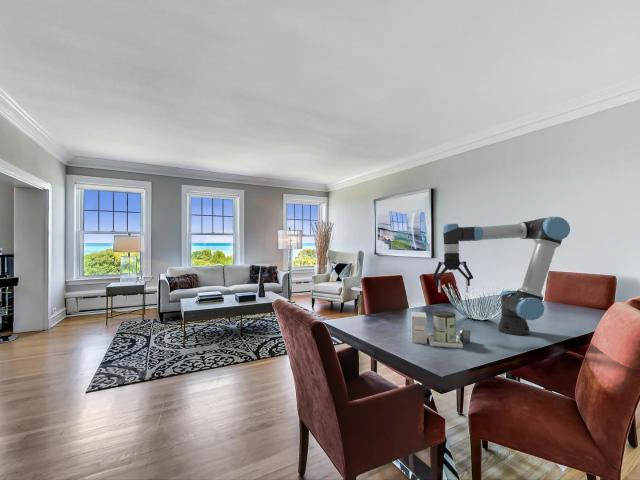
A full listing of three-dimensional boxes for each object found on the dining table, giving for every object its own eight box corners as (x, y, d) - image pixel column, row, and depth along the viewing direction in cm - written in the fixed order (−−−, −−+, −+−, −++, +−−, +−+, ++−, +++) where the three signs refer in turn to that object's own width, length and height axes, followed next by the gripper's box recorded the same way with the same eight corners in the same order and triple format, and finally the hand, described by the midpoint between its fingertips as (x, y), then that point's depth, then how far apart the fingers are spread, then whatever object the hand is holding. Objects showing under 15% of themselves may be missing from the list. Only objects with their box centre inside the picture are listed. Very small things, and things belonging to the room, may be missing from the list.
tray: (457, 339, 161) (457, 335, 161) (462, 348, 147) (462, 344, 147) (427, 337, 165) (427, 333, 165) (429, 346, 150) (429, 341, 150)
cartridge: (469, 341, 158) (469, 329, 158) (471, 344, 153) (471, 332, 153) (458, 340, 159) (458, 328, 160) (460, 343, 155) (460, 331, 155)
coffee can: (438, 337, 163) (438, 310, 163) (458, 341, 156) (458, 313, 156) (429, 341, 155) (429, 313, 156) (450, 346, 148) (450, 316, 149)
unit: (425, 337, 165) (425, 312, 165) (426, 344, 154) (426, 317, 154) (411, 336, 167) (411, 311, 167) (411, 342, 155) (411, 316, 156)
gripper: (474, 251, 169) (476, 291, 169) (426, 252, 175) (427, 291, 174) (478, 252, 162) (480, 293, 162) (427, 253, 167) (429, 293, 167)
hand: (452, 292), depth 168 cm, fingers open, 13 cm apart
